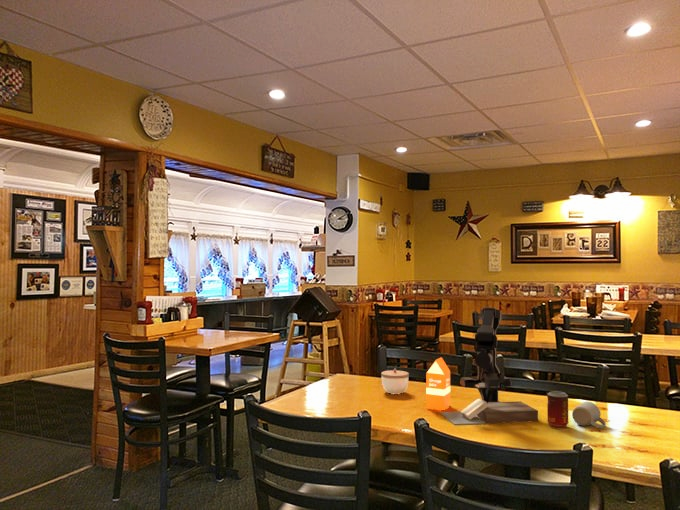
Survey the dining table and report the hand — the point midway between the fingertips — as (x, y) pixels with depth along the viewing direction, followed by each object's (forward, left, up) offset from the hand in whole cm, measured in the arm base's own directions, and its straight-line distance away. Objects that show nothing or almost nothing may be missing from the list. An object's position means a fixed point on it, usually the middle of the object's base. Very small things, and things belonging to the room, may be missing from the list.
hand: (485, 404), depth 207 cm
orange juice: (-17, -13, -5) cm, 22 cm away
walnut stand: (0, +8, -5) cm, 9 cm away
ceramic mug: (+13, +35, -5) cm, 37 cm away
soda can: (+14, +22, -5) cm, 26 cm away
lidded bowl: (-44, -25, -5) cm, 51 cm away
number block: (+1, -4, -2) cm, 5 cm away
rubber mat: (0, -9, -5) cm, 11 cm away
